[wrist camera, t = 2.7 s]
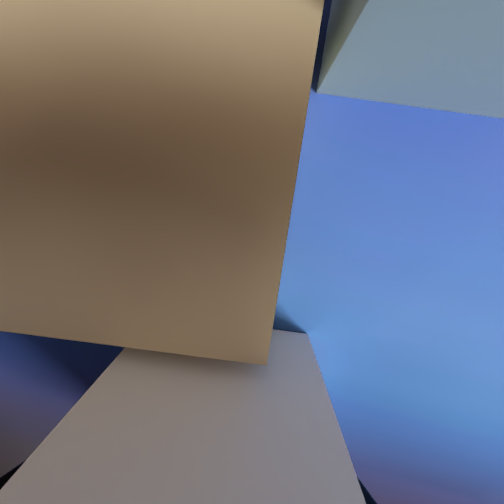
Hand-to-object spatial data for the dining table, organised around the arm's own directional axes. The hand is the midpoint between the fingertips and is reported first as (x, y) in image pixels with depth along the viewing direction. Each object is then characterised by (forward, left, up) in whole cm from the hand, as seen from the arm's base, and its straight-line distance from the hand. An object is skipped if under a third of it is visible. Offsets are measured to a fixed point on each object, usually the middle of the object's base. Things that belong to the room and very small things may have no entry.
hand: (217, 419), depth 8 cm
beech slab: (+7, +3, -2) cm, 8 cm away
